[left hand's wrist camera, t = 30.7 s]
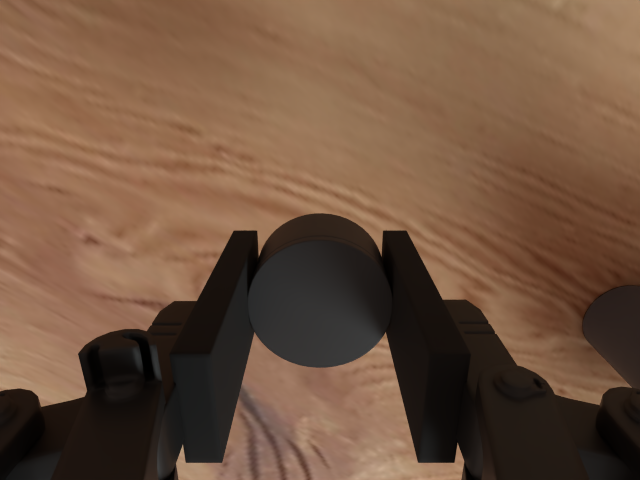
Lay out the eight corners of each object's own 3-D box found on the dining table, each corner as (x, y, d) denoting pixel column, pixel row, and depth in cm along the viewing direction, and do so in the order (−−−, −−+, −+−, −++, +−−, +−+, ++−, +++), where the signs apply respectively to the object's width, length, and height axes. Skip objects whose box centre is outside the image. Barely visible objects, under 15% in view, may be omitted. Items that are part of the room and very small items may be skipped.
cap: (324, 186, 13) (325, 209, 11) (408, 275, 15) (423, 312, 12) (231, 268, 14) (216, 303, 12) (316, 346, 16) (315, 390, 13)
